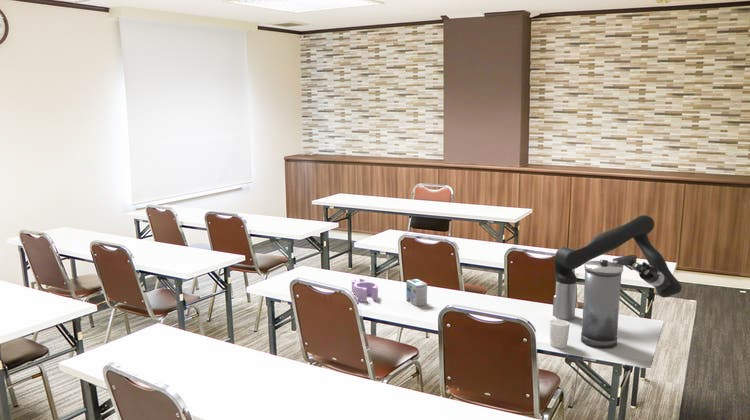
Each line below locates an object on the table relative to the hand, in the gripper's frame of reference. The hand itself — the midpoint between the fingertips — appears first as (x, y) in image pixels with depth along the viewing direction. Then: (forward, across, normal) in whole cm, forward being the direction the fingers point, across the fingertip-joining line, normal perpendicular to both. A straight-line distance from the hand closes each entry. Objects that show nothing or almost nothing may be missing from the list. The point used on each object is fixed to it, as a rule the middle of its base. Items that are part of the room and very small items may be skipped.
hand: (634, 262), depth 258 cm
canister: (+2, 0, +38) cm, 38 cm away
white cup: (+16, -7, +47) cm, 50 cm away
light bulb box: (+30, -85, +55) cm, 106 cm away
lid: (+12, 0, +7) cm, 14 cm away
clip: (+45, -109, +64) cm, 134 cm away
